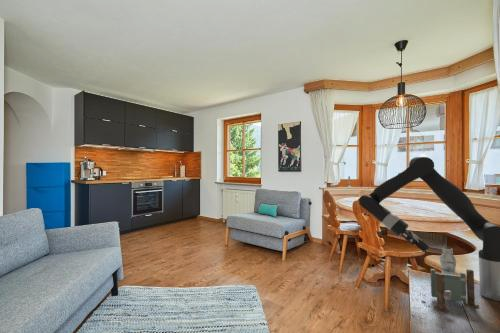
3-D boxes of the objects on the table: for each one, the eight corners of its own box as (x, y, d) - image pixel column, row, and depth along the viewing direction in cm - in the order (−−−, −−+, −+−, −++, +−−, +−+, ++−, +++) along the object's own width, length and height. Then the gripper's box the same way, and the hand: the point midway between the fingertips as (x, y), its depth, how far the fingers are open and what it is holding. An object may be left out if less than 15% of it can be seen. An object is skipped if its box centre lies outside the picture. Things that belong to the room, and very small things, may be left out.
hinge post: (470, 302, 110) (468, 268, 110) (479, 307, 106) (477, 271, 107) (463, 303, 109) (462, 269, 109) (472, 308, 106) (470, 272, 106)
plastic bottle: (461, 293, 118) (459, 250, 119) (444, 292, 120) (443, 250, 120) (453, 287, 125) (451, 246, 125) (437, 286, 126) (436, 246, 127)
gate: (465, 300, 109) (464, 272, 109) (466, 302, 108) (465, 274, 108) (431, 295, 114) (430, 268, 114) (432, 296, 113) (431, 270, 113)
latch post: (442, 306, 107) (441, 271, 107) (451, 312, 103) (450, 275, 103) (433, 308, 106) (432, 272, 106) (443, 313, 102) (441, 276, 102)
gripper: (397, 218, 118) (431, 244, 108) (402, 218, 128) (434, 242, 119) (386, 230, 120) (418, 256, 110) (392, 229, 130) (422, 253, 121)
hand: (426, 249), depth 114 cm, fingers open, 8 cm apart
